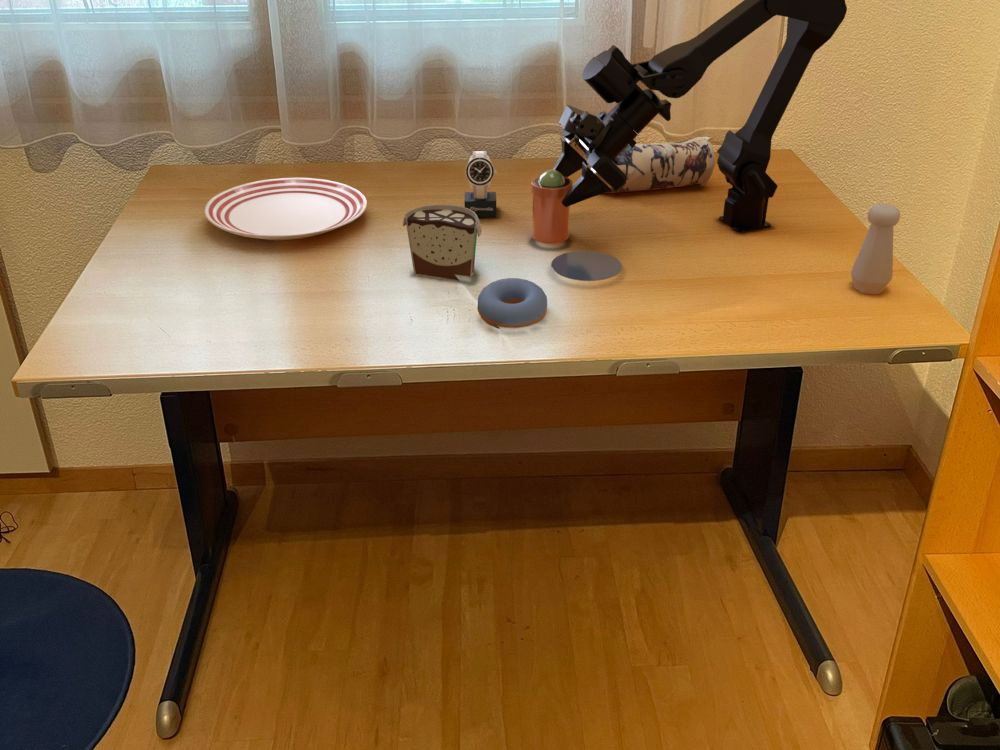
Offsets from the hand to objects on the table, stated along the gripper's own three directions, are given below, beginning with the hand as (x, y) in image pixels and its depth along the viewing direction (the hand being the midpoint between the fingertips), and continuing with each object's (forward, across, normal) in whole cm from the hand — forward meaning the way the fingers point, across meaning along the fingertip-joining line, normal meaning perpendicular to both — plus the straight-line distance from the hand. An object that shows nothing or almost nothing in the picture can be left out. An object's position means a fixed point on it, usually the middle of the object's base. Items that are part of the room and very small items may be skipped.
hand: (555, 194), depth 158 cm
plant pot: (+6, 0, +5) cm, 8 cm away
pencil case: (-11, -20, +23) cm, 32 cm away
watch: (+13, -15, -1) cm, 19 cm away
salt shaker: (-23, +27, +36) cm, 50 cm away
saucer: (+5, +12, +7) cm, 15 cm away
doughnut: (+15, +24, -3) cm, 29 cm away
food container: (+19, +7, -8) cm, 22 cm away
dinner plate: (+36, -19, -24) cm, 48 cm away
